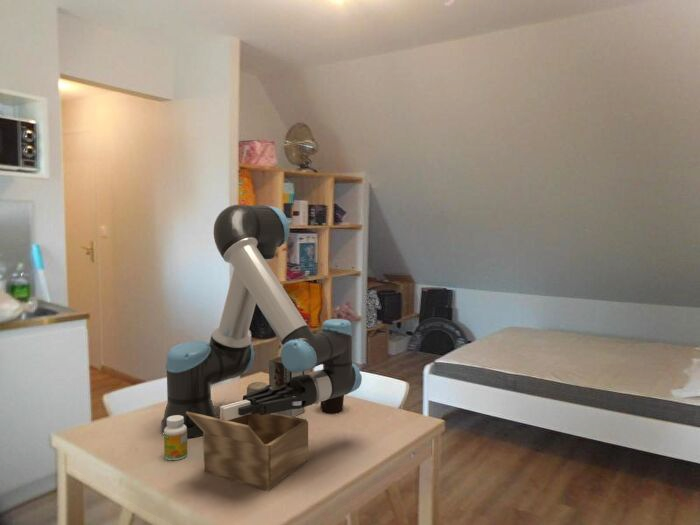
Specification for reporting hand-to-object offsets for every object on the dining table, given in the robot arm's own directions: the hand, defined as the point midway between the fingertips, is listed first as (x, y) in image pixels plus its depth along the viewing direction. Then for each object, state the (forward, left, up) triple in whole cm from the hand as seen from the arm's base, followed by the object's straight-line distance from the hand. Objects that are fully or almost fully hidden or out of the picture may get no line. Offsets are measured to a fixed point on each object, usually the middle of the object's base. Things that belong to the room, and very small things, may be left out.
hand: (222, 413), depth 113 cm
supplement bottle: (-22, +7, -17) cm, 29 cm away
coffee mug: (-4, +54, -17) cm, 57 cm away
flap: (-1, +2, -4) cm, 4 cm away
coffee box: (-15, +45, -17) cm, 51 cm away
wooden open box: (-1, +12, -17) cm, 21 cm away
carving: (-16, +32, -17) cm, 40 cm away
